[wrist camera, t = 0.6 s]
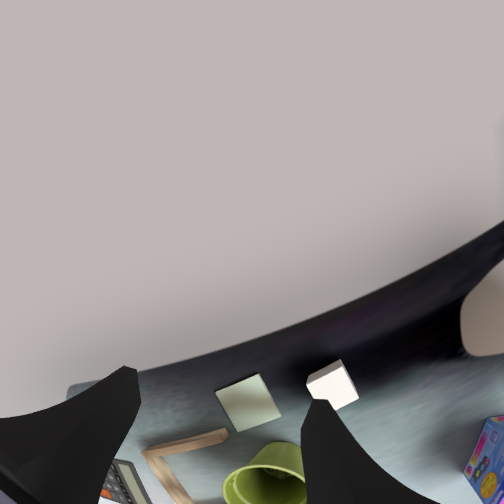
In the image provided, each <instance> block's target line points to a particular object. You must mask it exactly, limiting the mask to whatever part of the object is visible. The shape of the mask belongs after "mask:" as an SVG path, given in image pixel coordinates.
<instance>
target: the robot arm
mask: <svg viewBox="0 0 504 504" xmlns="http://www.w3.org/2000/svg"><path fill="white" fill-rule="evenodd" d="M140 405H141V397H140V391H139V384H138V376H137V370H136V369H133V368H130V367H126V366H123V367H121V368H119V369H118V370H116V371H115V372H114V373H112V374H111V375H109V376H107V377H106V378H104V379H103V380H101V381H100V382H98V383H96V384H95V385H93V386H92V387H90V388H88V389H87V390H85V391H83V392H82V393H80V394H78V395H76V396H74V397H72V398H70V399H69V400H66V401H64V402H62V403H60V404H58V405H55V406H52V407H50V408H47V409H44V410H41V411H37V412H34V413H31V414H27V415H21V416H16V417H9V418H0V504H98V502H99V498H100V494H101V491H102V488H103V485H104V482H105V479H106V476H107V474H108V471H109V468H110V466H111V463H112V461H113V459H114V457H115V455H116V453H117V452H118V450H119V448H120V446H121V444H122V442H123V441H124V439H125V437H126V435H127V434H128V432H129V430H130V428H131V426H132V424H133V422H134V420H135V418H136V415H137V413H138V410H139V407H140ZM301 455H302V463H303V471H304V478H305V486H306V495H307V504H440V503H438V502H435V501H433V500H431V499H429V498H426V497H424V496H422V495H420V494H418V493H416V492H415V491H413V490H411V489H409V488H408V487H406V486H405V485H403V484H402V483H400V482H399V481H398V480H396V479H395V478H394V477H392V476H391V475H389V474H388V473H387V472H386V471H385V470H383V469H382V468H381V467H380V466H379V465H378V464H377V463H376V462H375V461H374V460H373V459H372V458H371V457H370V456H369V455H368V454H367V453H366V452H365V450H364V449H363V448H362V447H361V446H360V445H359V443H358V442H357V441H356V440H355V438H354V437H353V436H352V434H351V433H350V432H349V430H348V429H347V427H346V426H345V425H344V423H343V422H342V420H341V419H340V417H339V416H338V414H337V413H336V411H335V410H334V408H333V407H332V405H331V404H330V402H329V401H328V399H313V400H312V403H311V405H310V408H309V410H308V413H307V415H306V418H305V420H304V423H303V425H302V427H301Z"/></svg>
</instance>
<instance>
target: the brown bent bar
mask: <svg viewBox="0 0 504 504" xmlns="http://www.w3.org/2000/svg"><path fill="white" fill-rule="evenodd" d="M215 393H216V395H217V397H218V398H219V400H220V402H221V404H222V406H223V407H224V409H225V411H226V413H227V415H228V416H229V418H230V420H231V421H232V423H233V425H234V427H235V428H236V430H237V432H240V431H243V430H246V429H249V428H252V427H255V426H258V425H260V424H263V423H266V422H269V421H271V420H274V419H276V418H279V417H281V416H282V414H281V413H280V411H279V409H278V407H277V406H276V404H275V402H274V400H273V398H272V397H271V395H270V393H269V391H268V389H267V388H266V386H265V384H264V382H263V380H262V378H261V377H260V375H259V374H256V375H254V376H252V377H250V378H247V379H245V380H243V381H241V382H238V383H236V384H233V385H231V386H229V387H226V388H224V389H221V390H219V391H216V392H215ZM229 435H230V434H229V432H228V431H227V429H226V427H224V428H221V429H218V430H214V431H211V432H208V433H204V434H201V435H197V436H193V437H189V438H186V439H181V440H177V441H173V442H169V443H164V444H159V445H154V446H150V447H148V448H147V449H145V450H143V451H142V452H141V453H142V454H143V456H144V458H145V459H146V461H147V463H148V464H149V466H150V467H151V469H152V470H153V472H154V473H155V475H156V476H157V478H158V479H159V481H160V482H161V484H162V485H163V487H164V488H165V489H166V491H167V492H168V493H169V495H170V496H171V498H172V499H173V500H174V502H175V503H176V504H195V503H194V502H193V500H192V499H191V498H190V496H189V495H188V494H187V492H186V491H185V490H184V488H183V487H182V486H181V484H180V483H179V481H178V480H177V478H176V477H175V475H174V474H173V473H172V471H171V469H170V468H169V466H168V465H167V463H166V462H165V460H164V459H163V457H162V456H165V455H171V454H176V453H181V452H186V451H190V450H195V449H199V448H203V447H207V446H211V445H215V444H218V443H222V442H224V441H225V440H226V438H227V437H228V436H229Z"/></svg>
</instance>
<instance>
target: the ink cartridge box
mask: <svg viewBox="0 0 504 504" xmlns="http://www.w3.org/2000/svg"><path fill="white" fill-rule="evenodd" d="M463 474H464V476H465V477H466V479H467V480H468V481H469V483H470V484H471V486H472V487H473V489H474V490H475V492H476V493H477V495H478V496H479V498H480V499H481V501H482V502H483V504H504V416H497V417H489V418H487V419H486V422H485V425H484V427H483V430H482V432H481V435H480V437H479V440H478V442H477V444H476V446H475V449H474V451H473V453H472V455H471V457H470V459H469V461H468V463H467V465H466V467H465V469H464V471H463Z"/></svg>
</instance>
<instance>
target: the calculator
mask: <svg viewBox="0 0 504 504" xmlns="http://www.w3.org/2000/svg"><path fill="white" fill-rule="evenodd" d="M100 496H101V497H103V498H106V499H109V500H112V501H115V502H118V503H121V504H152V502H151V500H150V498H149V496H148V494H147V492H146V490H145V488H144V486H143V484H142V482H141V480H140V478H139V476H138V474H137V471H136V469H135V467H134V465H133V463H132V462H127V461H121V460H116V459H113V461H112V463H111V466H110V468H109V471H108V474H107V476H106V479H105V482H104V485H103V488H102V491H101V494H100Z"/></svg>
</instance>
